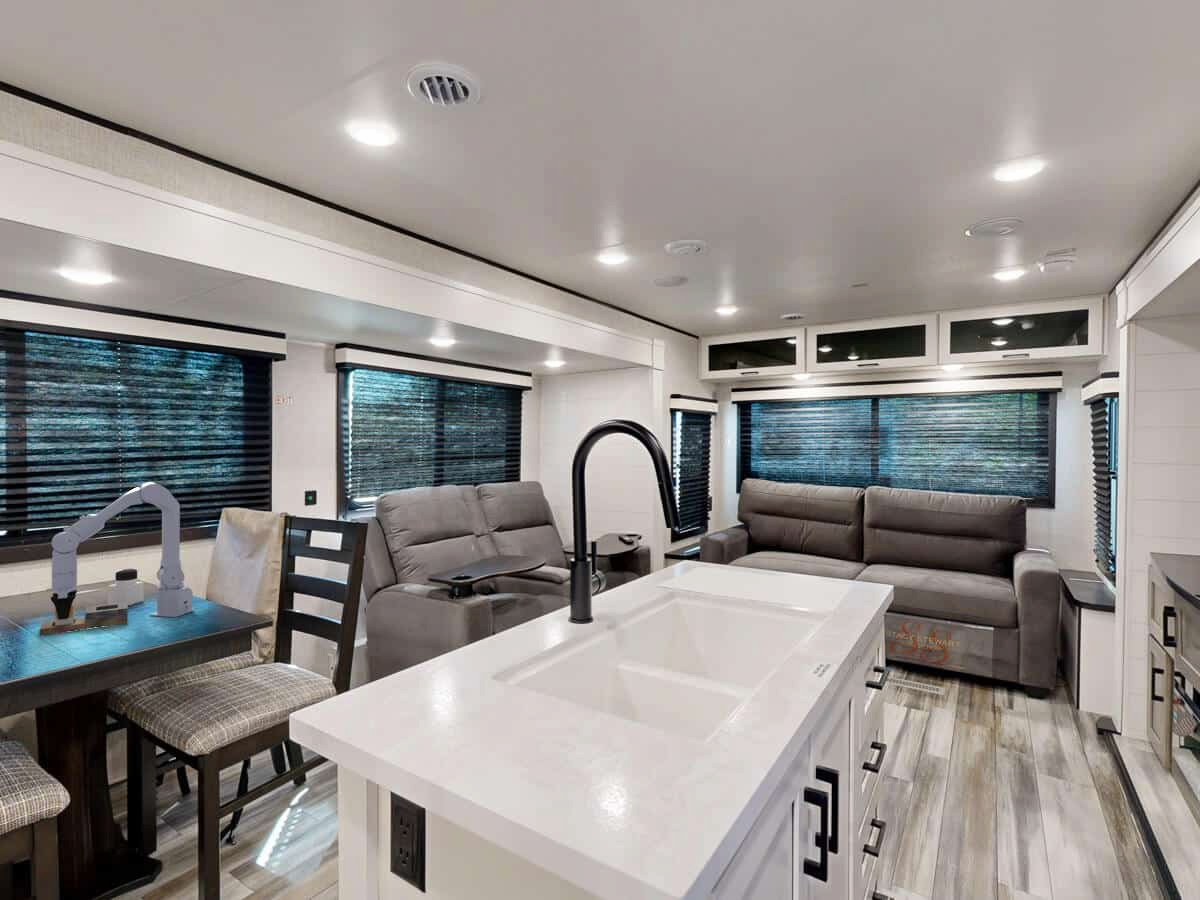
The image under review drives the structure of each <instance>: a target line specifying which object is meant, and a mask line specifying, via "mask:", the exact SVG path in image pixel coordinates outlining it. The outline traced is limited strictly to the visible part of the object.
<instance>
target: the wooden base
mask: <svg viewBox="0 0 1200 900" xmlns="http://www.w3.org/2000/svg"><path fill="white" fill-rule="evenodd" d="M128 607H129V606H128V605H127V602H123V603H114V604H108V603H107V604H98V605H90V606H86V609H85V615H84V616H79V617H78V616H77V617H74V623H72V624H65V625H57V626H55V619H54V620H46V621H42V623H41V625H40V628H39V636H40V637H42V636H41V635H44V636H50V635H49V634H52V635H57V634H56V633H59V634H63V633H62V632H66V633H68V632H67V631H74V632H76V631H75V630H80V629H87V628H94V627H102V626H110V627H112V626H111V625H118V626H121V625H120V624H125V625H128V618H129V617H128V616H129V614H128V612H129V611H128V610H129V609H128Z"/></svg>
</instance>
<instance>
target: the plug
mask: <svg viewBox="0 0 1200 900" xmlns="http://www.w3.org/2000/svg"><path fill="white" fill-rule="evenodd" d="M54 609H55V612H54V615H55V618H54V620H55V626H57V625H65V624H72V623H74V618H75V602H72V605H71V609H70V614H69V617H68V619H62V620H59V619H58V616H57V612H56V608H54Z"/></svg>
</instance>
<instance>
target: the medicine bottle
mask: <svg viewBox="0 0 1200 900" xmlns="http://www.w3.org/2000/svg"><path fill="white" fill-rule="evenodd" d="M114 575H115V577H114V578H115V580H114V582H115V583H114V584H113V583H112V584H109V585H108V587H107V593H108V594H107V604H114V603H123V602H127V605H131V604H134V603H137V604H139V603H138V602H141V601H143V602H144V599H145V597H144V596H145V591H144V590H145V583H144V581H138V570H137V569H135V568H123V569H119V570H116V571H115V574H114ZM141 603H142V602H141ZM134 605H135V604H134ZM131 606H132V605H131Z"/></svg>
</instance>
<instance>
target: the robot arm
mask: <svg viewBox="0 0 1200 900" xmlns="http://www.w3.org/2000/svg"><path fill="white" fill-rule="evenodd" d="M143 501H144V502H145V503H147V504H151V505H154V506H155V507H157V509H159V510H161V561H160V567H159V569H158V571H157V572H156V578H157V579H158V581H159V583H158V585H157V588H156V611H155V612H152V613H150V614H149V616H150V617H151V616H153V617H165V618H166V617H168V618H169V617H170V618H171V617H172V618H177V617H179V616H182V615H185V613H186V614H188V613H190V612H191V613H192V612H194V611H195V609H194V608H193V597H194V596H193V591H192V589H191V588H190V587H186V586H185V584H184V580H185V573H184V572H183V570H182V563H181V559H180V553H181V552H180V543H181V542H180V539H181V538H180V537H181V536H180V533H181V532H180V531H181V530H180V529H181V528H180V526H181V523H180V520H181V517H180V516H181V511H180V510H181V509H180V508H181V505H180V503H179V502H178V500H177V499H176V498H175V497H174V496H173V494H172V493H171V492H170V491H169V489H168V488H166V487H164V486H162V485H161V484H158V483H156V482H153V481H147V482H144V483H142V484H140V486H137V487H135V488H133V489H131V490H129V491H127V492H126V493H124V494H123V495H121V496H120V497H119V498H118V499H116V500H115V501H113V502H111V503H110V504H109V505H107V506H106V507H105V508H103V509H102V510H101V511H99V512H97V513H95V514H94V513H92V514H90V513H89V514H87V515H86V516H85V515H82V516H79V520H78V521H76V522H74V523H73V524H72V525H70V526H69V527H67V526H66V527H64V528H63V531H62V532H58V533H56V534H55V535H54V536H53V537H52V539H51V542H50V544H51V547H52V548H53V549H52V558H51V587H46V589H45V591H46V592H51V593H52V592H53V593H52V596H50V601H51V602H52V603H53V606H54V607H55V608H56V612H57V616H58V619H59V620H62V619H68V617H69V614H70V609H71V605H72V603H74V600H75V599H76V597H77V593H78V588H79V585H78V555H77V549H78V546H79V544H80V543H84V542H85V541H86V540H88V539H89V538H91V537H92V536H94V535H95V534H97V533H99V532H100V531H101V530H102V529H103V528H105V522H106V521H108V520H110V519H111V518H112V517H115V516H116V515H118V514H119V513H121V512H122V511H124V510H126V509H127V508H128V507H130V506H134V505H135V506H136V505H142V504H143ZM55 608H54V609H55Z"/></svg>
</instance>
